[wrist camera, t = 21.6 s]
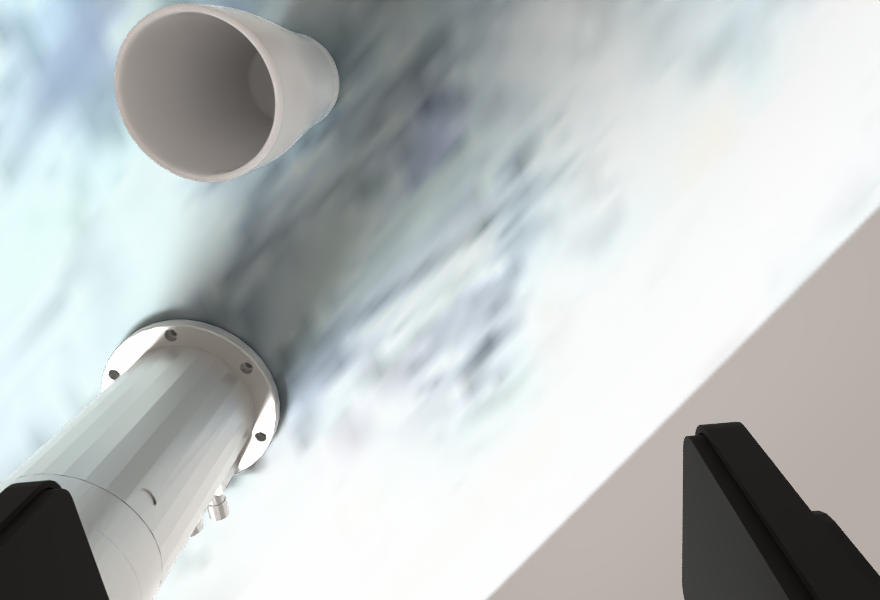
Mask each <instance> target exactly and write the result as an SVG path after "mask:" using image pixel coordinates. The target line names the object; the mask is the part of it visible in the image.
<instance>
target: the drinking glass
mask: <svg viewBox="0 0 880 600" xmlns="http://www.w3.org/2000/svg"><path fill="white" fill-rule="evenodd" d="M114 90H115V97H116V102H117V106H118V110H119V113H120V116H121V118H122V120H123V123H124V125H125V127H126V129H127V130H128V132H129V134H130V135H131V137H132V139H133V140H134V141H135V143H136V144H137V145H138V146H139V148H140V149H141V150H142V151H143V152H144V153H145V154H146V155H147V156H148V157H149V158H150V159H152V160H153V161H154V162H155V163H157V164H158V165H159V166H161V167H162V168H164V169H166V170H168V171H169V172H171V173H173V174H176V175H178V176H181V177H183V178H186V179H190V180H195V181H202V182H219V181H225V180H229V179H233V178H236V177H238V176H241V175H244V174H247V173H249V172H252V171H254V170H256V169H259V168H261V167H263V166H265V165H266V164H268V163H270V162H272V161H273V160H275V159H276V158H278V157H279V156H281V155H282V154H284V153H285V152H286V151H287V150H288V149H290V148H291V147H292V146H293V145H294V144H295V143H296V142H297V141H298V140H299V139H300V138H301V137H302V136H303V135H304V134H305V133H306V132H307V131H308V130H309V129H310V128H311V127H312V126H314V125H315V124H317V123H319V122H320V121H322V120H323V119H324V118H325V117H326V116H327V115H328V114H329V113H330V112H331V110H332V109H333V107H334V105H335V103H336V100H337V98H338V94H339V74H338V70H337V67H336V64H335V62H334V60H333V58H332V57H331V55H330V53H329V52H328V51H327V50H326V49H325V48H324V46H322V45H321V44H320V43H319V42H318V41H316V40H315V39H313V38H311V37H309V36H307V35H304V34H300V33H295V32H292V31H290V30H288V29H286V28H284V27H282V26H279V25H277V24H275V23H273V22H271V21H269V20H267V19H265V18H263V17H260V16H258V15H255V14H252V13H250V12H247V11H243V10H240V9H236V8H231V7H226V6H219V5H211V4H188V3H184V4H175V5H170V6H166V7H163V8H160V9H158V10H156V11H154V12H152V13H150V14H149V15H147V16H145V17H144V18H143V19H142V20H140V21H139V22H138V23H137V24H136V25H135V26H134V27H133V28H132V30H131V31H130V32H129V33H128V35H127V36H126V38H125V40H124V41H123V44H122V46H121V48H120V50H119V53H118V56H117V60H116V64H115V72H114Z"/></svg>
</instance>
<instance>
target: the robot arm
mask: <svg viewBox="0 0 880 600" xmlns="http://www.w3.org/2000/svg"><path fill="white" fill-rule="evenodd" d="M174 331H175V332H174ZM248 363H250V364H251V365H250V364H248ZM101 390H102V392H101V393H100V394H99V395H98V396H97V397H96V398H94V399H93V400H92V401H91V402H90V403H89V404H88V405H87V406H86V407H85V408H83V409H82V410H81V411H80V412H79V413H78V414H77V415H76V416H75V417H73V418H72V419H71V420H70V421H69V422H68V423H67V424H66V425H65V426H64V427H62V428H61V429H60V430H59V431H58V432H57V433H56V434H55V435H54V436H52V437H51V438H50V439H49V440H48V441H47V442H46V443H45V444H44V445H43V446H41V447H40V448H39V449H38V450H37V451H36V452H35V453H34V454H33V455H31V456H30V457H29V458H28V459H27V460H26V461H25V462H24V463H23V464H22V465H20V466H19V467H18V468H17V469H16V470H15V471H14V472H13V473H12V474H11V475H9V476H8V477H7V478H6V479H5V480H4V481H3V482H2V483H1V484H0V600H153V598H154V597H155V595H156V593H157V591H158V590H159V588H160V586H161V585H162V583H163V581H164V580H165V578H166V576H167V575H168V573H169V571H170V570H171V568H172V566H173V565H174V563H175V561H176V559H177V558H178V556H179V554H180V553H181V551H182V549H183V548H184V546H185V544H186V543H187V541H188V539H189V538H190V537H191V536H194V535H196V534H197V533H199V532H200V531H201V530H202V529H203V521H202V516H203V514H204V512H205V511H206V509H207V508H208V512H209V516H210V518H211V520H214V521H218V520H222V519H224V518H226V517H227V516H228V515H229V508H228V504H227V500H226V497H225V495H224V490H225V488H226V486H227V485H228V483H229V481H230V479H231V478H232V476H233V475H234V474H236V473H239V472H241V471H243V470H245V469H246V468H248V467H250V466H251V465H253V464H254V463H255V462H256V461H257V460H258V459H259V458H260V457H261V456H262V455H263V454H264V452H265V451H266V449H267V448H268V446H269V445H270V443H271V441H272V439H273V437H274V435H275V433H276V430H277V426H278V422H279V418H280V401H279V396H278V390H277V387H276V385H275V382H274V380H273V377H272V375H271V373H270V371H269V370H268V368H267V367H266V365H265V364H264V362H263V360H262V359H261V358H260V357H259V356H258V355H257V354H256V353H255V352H254V351H253V350H252V348H251V347H249V346H248V345H247V344H245V343H244V342H243V341H242V340H240V339H239V338H238V337H236V336H234V335H233V334H231V333H229V332H227V331H225V330H223V329H221V328H219V327H216V326H213V325H210V324H207V323H204V322H199V321H193V320H166V321H161V322H156V323H153V324H150V325H148V326H146V327H143V328H141V329H139V330H138V331H136V332H135V333H133V334H132V335H131V336H129V337H128V338H127V339H126V340H124V341H123V342H122V343H121V344H120V345H119V346H118V347H117V348H116V349H115V351H114V352H113V354H112V355H111V356H110V358H109V359H108V362H107V364H106V366H105V369H104V372H103V378H102V386H101ZM695 434H696V435H695V436H686V437H685V439H684V444H683V544H682V545H683V546H682V547H683V548H682V550H683V551H682V586H683V594H684V599H685V600H880V576H879V575H878V574H877V572H876V571H875V570H874V569H873V567H872V566H871V565H870V564H869V562H868V561H867V560H866V559H865V558H864V556H863V555H862V554H861V553H860V552H859V551H858V549H857V548H856V547H855V545H854V544H853V543H852V542H851V541H850V539H849V538H848V537H847V536H846V535H845V534H844V532H843V531H842V530H841V528H840V527H839V526H838V525H837V524H836V522H835V521H834V520H833V519H832V518H831V517H830V516H828V515H827V514H826V513H823V512H821V511H811V510H810V509H809V508H808V506H807V505H806V504H805V502H804V501H803V500H802V499H801V497H800V496H799V495H798V493H797V492H796V491H795V490H794V488H793V487H792V486H791V485H790V483H789V482H788V481H787V480H786V478H785V477H784V476H783V474H782V473H781V472H780V471H779V469H778V468H777V467H776V466H775V464H774V463H773V462H772V460H771V459H770V458H769V457H768V455H767V454H766V453H765V452H764V450H763V449H762V448H761V447H760V445H759V444H758V443H757V441H756V440H755V439H754V438H753V437H752V435H751V434H750V433H749V431H748V430H747V429H746V428H745V427H744V425H743V424H742V423H740V422H730V423H718V424H707V425H699V426H698V427H697V430H696V433H695Z"/></svg>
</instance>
